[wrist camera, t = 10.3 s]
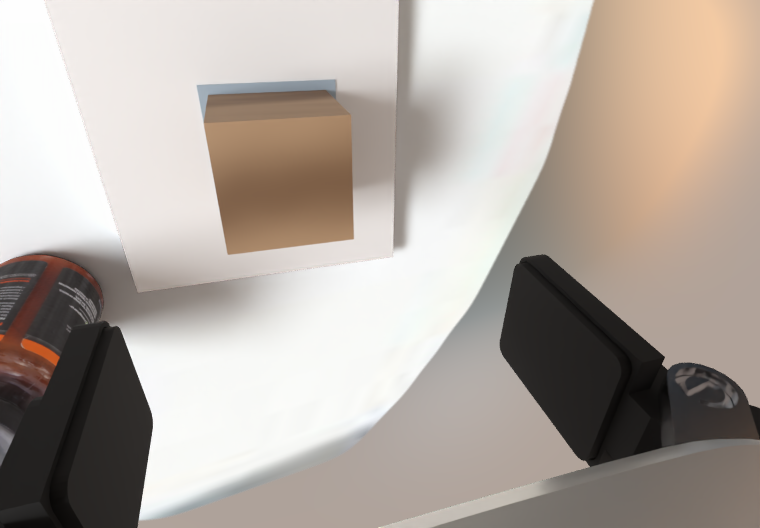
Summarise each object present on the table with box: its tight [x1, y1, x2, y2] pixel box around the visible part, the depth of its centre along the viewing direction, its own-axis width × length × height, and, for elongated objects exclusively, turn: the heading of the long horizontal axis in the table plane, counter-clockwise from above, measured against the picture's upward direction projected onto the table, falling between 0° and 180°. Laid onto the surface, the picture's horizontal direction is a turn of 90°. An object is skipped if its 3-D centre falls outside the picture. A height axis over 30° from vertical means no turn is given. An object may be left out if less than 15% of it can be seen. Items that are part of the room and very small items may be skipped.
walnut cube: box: [203, 90, 354, 255], centre depth 23 cm, size 6×6×6 cm
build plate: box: [44, 0, 399, 293], centre depth 26 cm, size 16×16×1 cm
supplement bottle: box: [0, 255, 104, 466], centre depth 23 cm, size 6×6×11 cm
